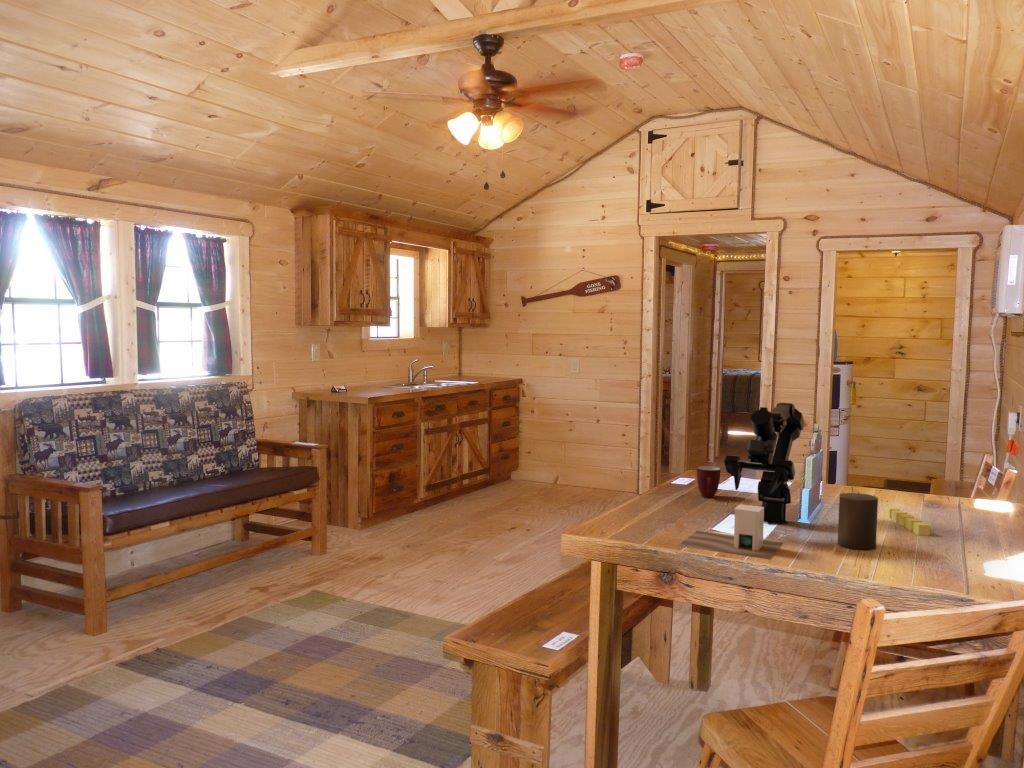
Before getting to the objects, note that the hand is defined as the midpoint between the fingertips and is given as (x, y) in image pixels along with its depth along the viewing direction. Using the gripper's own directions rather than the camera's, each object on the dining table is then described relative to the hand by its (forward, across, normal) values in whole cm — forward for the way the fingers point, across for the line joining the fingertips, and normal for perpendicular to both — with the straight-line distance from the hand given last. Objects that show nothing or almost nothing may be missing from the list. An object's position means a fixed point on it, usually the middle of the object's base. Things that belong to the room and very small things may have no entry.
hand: (752, 490), depth 217 cm
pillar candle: (+2, +26, +18) cm, 31 cm away
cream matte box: (+15, +1, +4) cm, 16 cm away
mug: (-26, -27, +44) cm, 57 cm away
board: (+16, -3, +5) cm, 17 cm away
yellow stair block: (-23, +36, +42) cm, 60 cm away
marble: (+14, +1, +3) cm, 15 cm away
